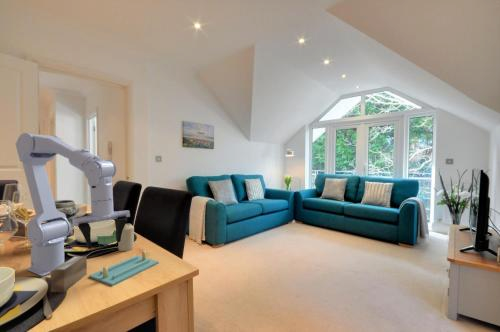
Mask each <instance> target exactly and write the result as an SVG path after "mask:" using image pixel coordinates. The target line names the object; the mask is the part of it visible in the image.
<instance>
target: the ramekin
mask: <svg viewBox="0 0 500 332" xmlns="http://www.w3.org/2000/svg"><path fill="white" fill-rule="evenodd" d="M113 230H114V229H113ZM96 236H97V235H96ZM113 242H116V229H115V230H114V232H113V235H112V236H97V245H98V244H110V243H113Z"/></svg>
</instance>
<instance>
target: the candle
mask: <svg viewBox="0 0 500 332" xmlns="http://www.w3.org/2000/svg"><path fill="white" fill-rule="evenodd" d="M134 246H135V227H134V225H132V224H131V223H126V224H125V226H124V229H123V231H122V235H121V241H120V242H118V246H117V247H118V248H117V249H118V251H119V252H127V251H132V250H133V249H134V248H135V247H134Z"/></svg>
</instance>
